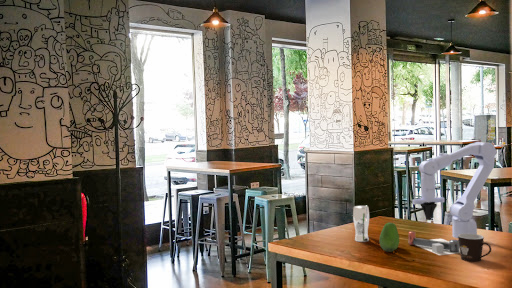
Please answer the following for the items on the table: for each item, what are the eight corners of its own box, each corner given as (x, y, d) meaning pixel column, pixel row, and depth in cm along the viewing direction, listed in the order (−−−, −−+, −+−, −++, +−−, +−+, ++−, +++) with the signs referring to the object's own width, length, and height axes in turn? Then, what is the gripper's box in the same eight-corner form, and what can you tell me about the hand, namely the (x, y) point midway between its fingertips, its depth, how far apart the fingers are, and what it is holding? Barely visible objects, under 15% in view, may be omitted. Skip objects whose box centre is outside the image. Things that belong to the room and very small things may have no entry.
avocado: (400, 254, 193) (400, 224, 192) (380, 254, 194) (379, 224, 194) (398, 249, 201) (397, 220, 200) (378, 248, 202) (378, 220, 202)
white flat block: (441, 241, 210) (441, 231, 210) (475, 255, 189) (475, 243, 189) (408, 245, 206) (407, 234, 206) (439, 259, 185) (439, 247, 185)
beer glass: (369, 242, 213) (369, 208, 213) (353, 242, 215) (352, 208, 214) (369, 238, 220) (368, 205, 220) (353, 238, 222) (353, 205, 221)
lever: (461, 250, 189) (460, 238, 188) (457, 252, 186) (457, 239, 186) (411, 242, 203) (411, 230, 203) (407, 244, 201) (406, 232, 200)
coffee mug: (453, 260, 182) (453, 234, 182) (476, 259, 183) (475, 233, 183) (470, 269, 171) (469, 241, 170) (493, 268, 171) (493, 240, 171)
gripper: (437, 186, 217) (437, 216, 217) (408, 188, 213) (408, 219, 214) (447, 188, 210) (447, 219, 210) (417, 190, 206) (417, 222, 207)
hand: (428, 219), depth 212 cm, fingers closed
